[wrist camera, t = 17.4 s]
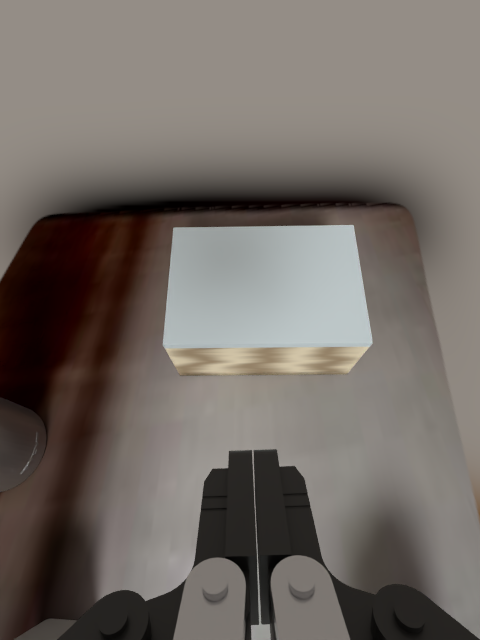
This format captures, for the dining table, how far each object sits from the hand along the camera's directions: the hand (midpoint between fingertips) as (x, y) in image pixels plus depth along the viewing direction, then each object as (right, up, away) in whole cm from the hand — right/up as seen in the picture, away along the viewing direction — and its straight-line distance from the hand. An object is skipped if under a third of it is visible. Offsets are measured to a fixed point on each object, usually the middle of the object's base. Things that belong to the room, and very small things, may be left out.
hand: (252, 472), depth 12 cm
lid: (+2, +8, +28) cm, 29 cm away
